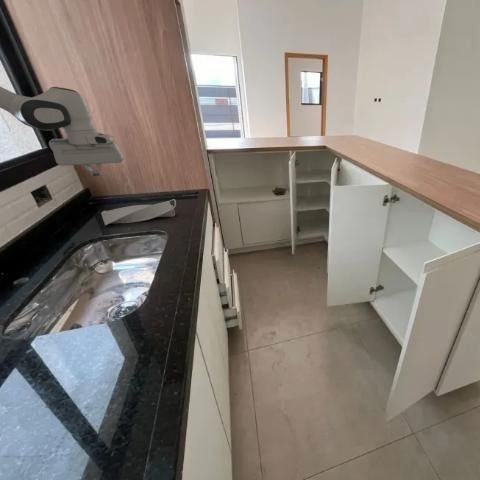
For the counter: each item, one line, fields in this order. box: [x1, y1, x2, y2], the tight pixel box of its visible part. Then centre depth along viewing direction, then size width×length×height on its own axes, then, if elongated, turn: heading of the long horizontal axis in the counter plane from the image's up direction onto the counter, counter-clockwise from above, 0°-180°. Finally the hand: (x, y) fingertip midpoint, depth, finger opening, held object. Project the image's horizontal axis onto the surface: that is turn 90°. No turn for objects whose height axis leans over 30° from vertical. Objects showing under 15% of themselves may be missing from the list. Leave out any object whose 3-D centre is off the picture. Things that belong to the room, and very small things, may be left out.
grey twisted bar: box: [100, 198, 177, 226], centre depth 118 cm, size 8×8×28 cm
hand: (97, 175), depth 104 cm, fingers closed
